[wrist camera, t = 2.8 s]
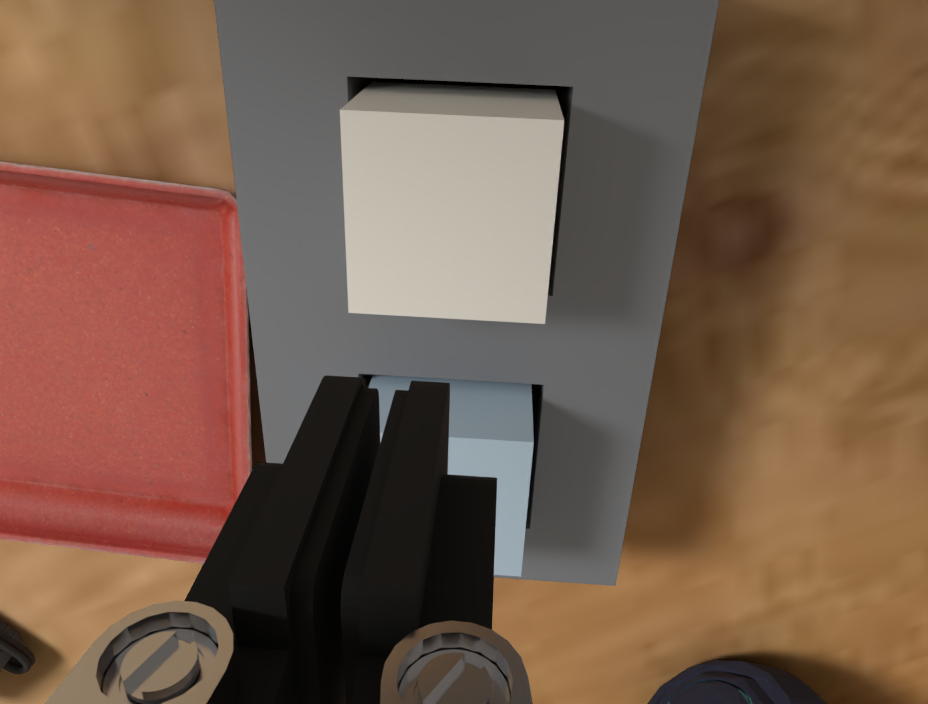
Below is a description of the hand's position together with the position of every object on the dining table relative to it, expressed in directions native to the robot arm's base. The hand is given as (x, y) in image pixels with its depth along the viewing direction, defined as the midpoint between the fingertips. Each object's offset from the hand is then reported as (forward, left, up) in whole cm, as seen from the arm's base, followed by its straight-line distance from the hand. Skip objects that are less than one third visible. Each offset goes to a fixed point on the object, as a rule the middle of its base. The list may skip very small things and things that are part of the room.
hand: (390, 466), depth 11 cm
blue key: (+10, 0, -16) cm, 19 cm away
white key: (0, 0, -16) cm, 16 cm away
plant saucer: (+9, -17, -20) cm, 28 cm away
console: (+5, 0, -19) cm, 20 cm away
